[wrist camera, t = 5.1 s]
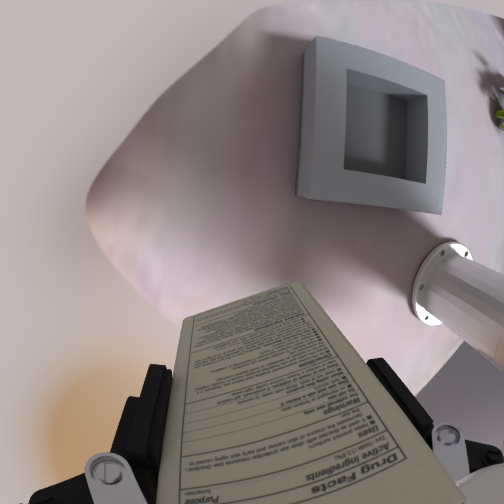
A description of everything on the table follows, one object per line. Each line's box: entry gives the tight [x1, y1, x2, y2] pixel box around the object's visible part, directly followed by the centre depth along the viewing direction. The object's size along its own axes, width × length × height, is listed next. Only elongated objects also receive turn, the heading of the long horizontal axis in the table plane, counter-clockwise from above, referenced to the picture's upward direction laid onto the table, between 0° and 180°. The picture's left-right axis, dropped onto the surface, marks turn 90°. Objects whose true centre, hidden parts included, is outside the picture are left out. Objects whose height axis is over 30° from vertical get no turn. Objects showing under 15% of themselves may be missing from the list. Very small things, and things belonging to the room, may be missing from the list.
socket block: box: [295, 36, 447, 215], centre depth 26 cm, size 16×16×5 cm
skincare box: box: [156, 281, 467, 504], centre depth 8 cm, size 6×4×12 cm
